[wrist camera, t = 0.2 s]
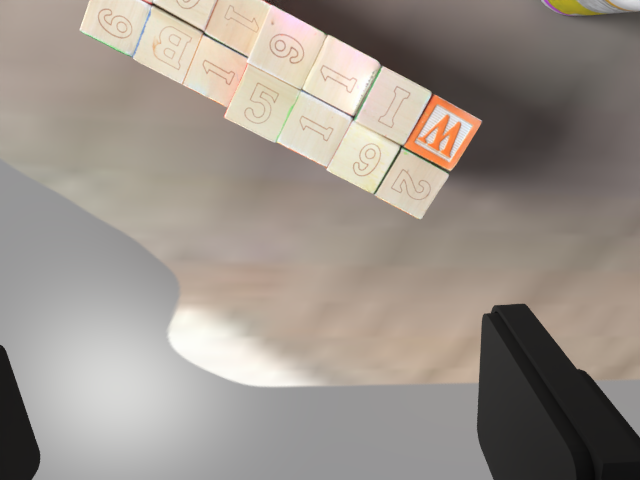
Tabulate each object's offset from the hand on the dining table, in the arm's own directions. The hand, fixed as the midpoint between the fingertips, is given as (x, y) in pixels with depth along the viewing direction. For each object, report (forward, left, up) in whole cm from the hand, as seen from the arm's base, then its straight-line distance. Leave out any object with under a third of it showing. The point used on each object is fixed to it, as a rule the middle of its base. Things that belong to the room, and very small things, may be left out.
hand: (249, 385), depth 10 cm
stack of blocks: (-5, 0, -31) cm, 32 cm away
